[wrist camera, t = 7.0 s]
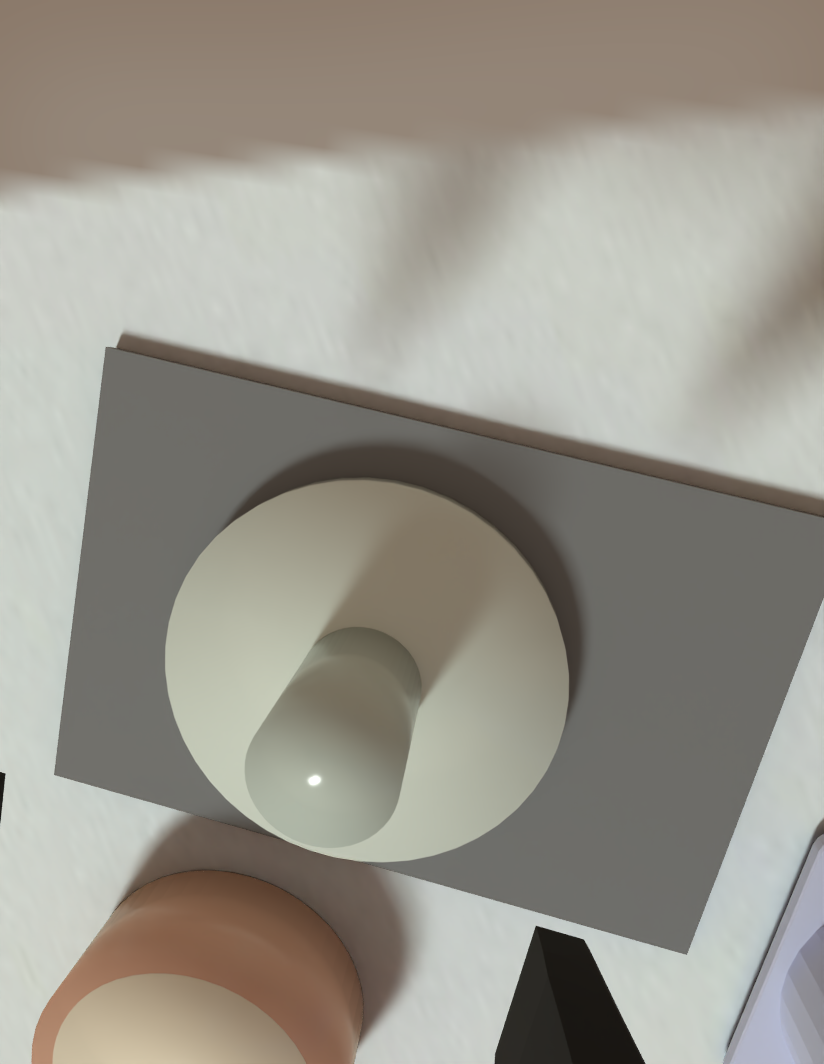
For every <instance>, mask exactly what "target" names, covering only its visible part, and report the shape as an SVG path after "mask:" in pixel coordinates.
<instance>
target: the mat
mask: <svg viewBox="0 0 824 1064" xmlns="http://www.w3.org/2000/svg"><path fill="white" fill-rule="evenodd" d="M358 477H371V478H380V479H389V480H397V481H401V482H405V483H409V484H413V485H418V486H422V487H425V488H427V489H430V490H432V491H435V492H438V493H440V494H443V495H445V496H448V497H450V498H452V499H453V500H455V501H457V502H459V503H461V504H463V505H465V506H466V507H468V508H470V509H472V510H473V511H475V512H476V513H478V514H479V515H480V516H482V517H483V518H484V519H486V520H487V521H489V522H490V523H491V524H493V525H494V526H495V527H496V528H497V529H498V530H500V531H501V532H502V533H503V534H504V535H505V536H506V537H507V538H508V539H509V540H510V541H511V542H512V543H513V544H514V545H515V546H516V547H517V548H518V550H519V551H520V552H521V553H522V555H523V556H524V557H525V558H526V560H527V561H528V562H529V563H530V564H531V566H532V567H533V569H534V571H535V572H536V574H537V576H538V577H539V579H540V581H541V582H542V584H543V585H544V587H545V589H546V591H547V594H548V596H549V598H550V601H551V603H552V605H553V607H554V610H555V612H556V616H557V620H558V623H559V627H560V630H561V634H562V637H563V641H564V645H565V649H566V656H567V664H568V671H569V701H568V707H567V714H566V720H565V726H564V729H563V732H562V735H561V739H560V742H559V745H558V748H557V750H556V753H555V755H554V757H553V759H552V761H551V763H550V765H549V767H548V769H547V771H546V773H545V774H544V776H543V777H542V779H541V780H540V782H539V783H538V785H537V786H536V788H535V789H534V791H533V792H532V793H531V794H530V795H529V796H528V797H527V799H526V800H525V801H524V802H523V803H522V804H521V805H520V806H519V807H518V809H517V810H515V811H514V812H513V813H512V814H511V815H510V816H508V817H507V818H506V819H505V820H504V821H502V822H501V823H500V824H499V825H497V826H496V827H494V828H493V829H491V830H490V831H488V832H487V833H485V834H483V835H482V836H480V837H479V838H477V839H475V840H473V841H470V842H468V843H466V844H464V845H462V846H460V847H458V848H455V849H452V850H449V851H446V852H443V853H440V854H437V855H434V856H429V857H424V858H419V859H414V860H409V861H396V862H364V861H359V862H362V863H366V864H370V865H373V866H377V867H380V868H384V869H387V870H391V871H394V872H398V873H401V874H405V875H408V876H412V877H415V878H419V879H422V880H426V881H429V882H433V883H436V884H440V885H443V886H447V887H450V888H454V889H457V890H461V891H464V892H468V893H471V894H475V895H478V896H482V897H486V898H489V899H493V900H496V901H500V902H503V903H507V904H510V905H514V906H517V907H521V908H524V909H528V910H531V911H535V912H538V913H542V914H545V915H549V916H552V917H556V918H559V919H563V920H566V921H570V922H573V923H577V924H580V925H584V926H587V927H591V928H594V929H598V930H602V931H605V932H609V933H612V934H616V935H619V936H623V937H626V938H630V939H633V940H637V941H640V942H644V943H647V944H651V945H654V946H658V947H661V948H665V949H668V950H672V951H675V952H679V953H682V954H686V955H687V953H688V950H689V948H690V945H691V942H692V940H693V937H694V935H695V932H696V929H697V927H698V924H699V921H700V919H701V916H702V914H703V911H704V908H705V906H706V903H707V901H708V898H709V895H710V893H711V890H712V888H713V885H714V882H715V880H716V877H717V875H718V872H719V869H720V867H721V864H722V861H723V859H724V856H725V854H726V851H727V848H728V846H729V843H730V841H731V838H732V835H733V833H734V830H735V828H736V825H737V822H738V820H739V817H740V814H741V812H742V809H743V807H744V804H745V801H746V799H747V796H748V794H749V791H750V788H751V786H752V783H753V781H754V778H755V775H756V773H757V770H758V767H759V765H760V762H761V760H762V757H763V754H764V752H765V749H766V747H767V744H768V741H769V739H770V736H771V734H772V731H773V728H774V726H775V723H776V721H777V718H778V715H779V713H780V710H781V707H782V705H783V702H784V700H785V697H786V694H787V692H788V689H789V687H790V684H791V681H792V679H793V676H794V674H795V671H796V668H797V666H798V663H799V660H800V658H801V655H802V653H803V650H804V647H805V645H806V642H807V640H808V637H809V634H810V632H811V629H812V627H813V624H814V621H815V619H816V616H817V613H818V611H819V608H820V606H821V603H822V600H823V598H824V517H823V516H818V515H814V514H810V513H806V512H802V511H797V510H793V509H789V508H785V507H781V506H776V505H772V504H768V503H764V502H760V501H755V500H751V499H747V498H743V497H739V496H734V495H730V494H726V493H722V492H718V491H713V490H709V489H705V488H701V487H697V486H692V485H688V484H684V483H680V482H676V481H671V480H667V479H663V478H659V477H655V476H650V475H646V474H642V473H638V472H634V471H629V470H625V469H621V468H617V467H613V466H608V465H604V464H600V463H596V462H592V461H588V460H583V459H579V458H575V457H571V456H567V455H562V454H558V453H554V452H550V451H546V450H541V449H537V448H533V447H529V446H525V445H520V444H516V443H512V442H508V441H504V440H499V439H495V438H491V437H487V436H483V435H478V434H474V433H470V432H466V431H462V430H457V429H453V428H449V427H445V426H441V425H436V424H432V423H428V422H424V421H420V420H415V419H411V418H407V417H403V416H399V415H394V414H390V413H386V412H382V411H378V410H373V409H369V408H365V407H361V406H357V405H352V404H348V403H344V402H340V401H336V400H331V399H327V398H323V397H319V396H315V395H311V394H306V393H302V392H298V391H294V390H290V389H285V388H281V387H277V386H273V385H269V384H264V383H260V382H256V381H252V380H248V379H243V378H239V377H235V376H231V375H227V374H222V373H218V372H214V371H210V370H206V369H201V368H197V367H193V366H189V365H185V364H180V363H176V362H172V361H168V360H164V359H159V358H155V357H151V356H147V355H143V354H138V353H134V352H130V351H126V350H122V349H117V348H112V347H106V350H105V358H104V366H103V375H102V383H101V391H100V399H99V408H98V416H97V424H96V433H95V441H94V449H93V457H92V466H91V474H90V482H89V491H88V499H87V507H86V515H85V524H84V532H83V540H82V549H81V557H80V565H79V573H78V582H77V590H76V598H75V606H74V615H73V623H72V631H71V640H70V648H69V656H68V664H67V673H66V681H65V689H64V698H63V706H62V714H61V722H60V731H59V739H58V747H57V755H56V764H55V772H54V775H57V776H60V777H64V778H67V779H71V780H74V781H78V782H81V783H85V784H88V785H92V786H95V787H99V788H102V789H106V790H109V791H113V792H116V793H120V794H123V795H127V796H130V797H134V798H138V799H141V800H145V801H148V802H152V803H155V804H159V805H162V806H166V807H169V808H173V809H176V810H180V811H183V812H187V813H190V814H194V815H197V816H201V817H204V818H208V819H211V820H215V821H218V822H222V823H225V824H229V825H232V826H236V827H239V828H243V829H246V830H250V831H254V832H257V833H261V834H264V835H268V836H271V837H275V838H278V839H282V838H280V837H278V836H276V835H274V834H272V833H271V832H269V831H267V830H265V829H264V828H262V827H261V826H259V825H258V824H256V823H255V822H253V821H252V820H251V819H249V818H248V817H246V816H245V815H244V814H243V813H241V812H240V811H239V810H238V809H237V808H236V807H234V806H233V805H232V804H231V803H230V802H229V801H228V800H226V799H225V797H224V796H223V795H222V794H221V793H220V792H219V791H218V790H217V789H216V788H215V787H214V785H213V784H212V783H211V782H210V781H209V780H208V778H207V777H206V775H205V774H204V773H203V771H202V770H201V769H200V767H199V766H198V764H197V763H196V762H195V760H194V758H193V756H192V755H191V753H190V751H189V749H188V747H187V745H186V744H185V742H184V740H183V738H182V735H181V733H180V730H179V728H178V725H177V723H176V720H175V718H174V714H173V710H172V707H171V703H170V699H169V695H168V688H167V681H166V673H165V645H166V638H167V631H168V624H169V620H170V616H171V613H172V610H173V606H174V603H175V599H176V597H177V595H178V593H179V590H180V588H181V586H182V584H183V582H184V579H185V577H186V576H187V574H188V572H189V571H190V569H191V568H192V566H193V565H194V563H195V562H196V560H197V558H198V557H199V555H200V554H201V553H202V552H203V551H204V550H205V549H206V547H207V546H208V545H209V544H210V543H211V542H212V541H213V539H214V538H215V537H216V536H217V535H218V534H220V533H221V532H222V531H223V530H224V529H225V528H227V527H228V526H229V525H230V524H231V523H232V522H234V521H235V520H236V519H238V518H239V517H241V516H242V515H244V514H246V513H247V512H249V511H250V510H252V509H253V508H255V507H256V506H258V505H260V504H262V503H263V502H265V501H267V500H269V499H271V498H273V497H275V496H278V495H280V494H282V493H284V492H286V491H289V490H291V489H294V488H297V487H301V486H304V485H307V484H311V483H314V482H319V481H325V480H332V479H338V478H358ZM282 840H284V839H282ZM285 841H286V840H285Z"/></svg>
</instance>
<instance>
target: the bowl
mask: <svg viewBox="0 0 824 1064" xmlns="http://www.w3.org/2000/svg"><path fill="white" fill-rule="evenodd" d="M362 1022H363V997H362V990H361V985H360V981H359V978H358V974H357V971H356V969H355V966H354V964H353V962H352V960H351V957H350V955H349V953H348V952H347V950H346V949H345V947H344V945H343V944H342V942H341V940H340V939H339V938H338V937H337V935H336V934H335V933H334V931H333V930H332V929H331V928H330V926H329V925H328V924H327V923H326V922H325V921H324V920H323V919H322V918H321V917H320V916H319V915H318V914H317V913H316V912H314V911H313V910H312V909H310V908H309V907H308V906H307V905H305V904H304V903H303V902H302V901H300V900H299V899H297V898H295V897H294V896H292V895H291V894H289V893H287V892H286V891H284V890H282V889H280V888H278V887H275V886H273V885H271V884H269V883H267V882H264V881H261V880H258V879H255V878H253V877H250V876H245V875H241V874H236V873H232V872H223V871H214V870H209V871H189V872H182V873H177V874H173V875H169V876H166V877H162V878H160V879H157V880H155V881H153V882H151V883H148V884H146V885H145V886H143V887H141V888H140V889H138V890H137V891H135V892H134V893H132V894H131V895H130V896H129V897H128V898H127V899H125V900H124V901H123V902H122V903H121V904H120V905H119V907H118V908H117V909H116V910H115V911H114V912H113V914H112V915H111V916H110V918H109V919H108V921H107V922H106V923H105V925H104V926H103V927H102V929H101V930H100V932H99V933H98V934H97V936H96V937H95V938H94V940H93V941H92V942H91V944H90V945H89V947H88V948H87V949H86V951H85V952H84V953H83V955H82V956H81V958H80V959H79V960H78V962H77V963H76V964H75V966H74V967H73V968H72V970H71V971H70V973H69V974H68V975H67V977H66V978H65V979H64V981H63V982H62V984H61V985H60V986H59V988H58V989H57V990H56V992H55V993H54V995H53V996H52V997H51V999H50V1000H49V1002H48V1003H47V1005H46V1007H45V1008H44V1010H43V1012H42V1014H41V1016H40V1019H39V1021H38V1024H37V1026H36V1029H35V1034H34V1039H33V1044H32V1064H354V1062H355V1057H356V1052H357V1047H358V1043H359V1038H360V1033H361V1027H362Z"/></svg>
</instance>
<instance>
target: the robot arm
mask: <svg viewBox="0 0 824 1064" xmlns="http://www.w3.org/2000/svg"><path fill="white" fill-rule="evenodd" d="M4 782H5V773H1V772H0V821H1V811H2V802H3V792H4ZM495 1064H645V1062H644V1060H643V1058H642V1056H641V1054H640V1052H639V1050H638V1048H637V1046H636V1044H635V1042H634V1040H633V1038H632V1036H631V1034H630V1032H629V1030H628V1028H627V1026H626V1024H625V1022H624V1020H623V1018H622V1016H621V1014H620V1012H619V1010H618V1008H617V1006H616V1004H615V1001H614V999H613V997H612V995H611V993H610V991H609V989H608V987H607V985H606V983H605V981H604V979H603V977H602V975H601V972H600V970H599V968H598V966H597V964H596V962H595V960H594V958H593V956H592V954H591V952H590V950H589V948H588V946H587V944H586V943H585V941H584V939H580V938H577V937H573V936H570V935H566V934H563V933H559V932H556V931H552V930H549V929H545V928H542V927H538V926H536V927H535V930H534V934H533V937H532V940H531V943H530V946H529V949H528V952H527V955H526V959H525V962H524V965H523V968H522V971H521V974H520V977H519V981H518V984H517V987H516V990H515V993H514V996H513V999H512V1003H511V1006H510V1009H509V1012H508V1015H507V1018H506V1021H505V1024H504V1028H503V1031H502V1034H501V1037H500V1040H499V1043H498V1046H497V1050H496V1053H495ZM723 1064H824V834H823V835H821V836H819V837H818V838H817V839H816V840H815V842H814V843H813V845H812V848H811V850H810V853H809V855H808V857H807V860H806V862H805V865H804V867H803V869H802V872H801V874H800V877H799V879H798V882H797V884H796V886H795V889H794V891H793V894H792V896H791V898H790V901H789V903H788V906H787V908H786V910H785V913H784V915H783V918H782V920H781V922H780V925H779V927H778V930H777V932H776V935H775V937H774V939H773V942H772V944H771V947H770V949H769V951H768V954H767V956H766V959H765V961H764V963H763V966H762V968H761V971H760V973H759V975H758V978H757V980H756V983H755V985H754V987H753V990H752V992H751V995H750V997H749V1000H748V1002H747V1004H746V1007H745V1009H744V1012H743V1014H742V1016H741V1019H740V1021H739V1024H738V1026H737V1028H736V1031H735V1033H734V1036H733V1038H732V1040H731V1043H730V1045H729V1048H728V1050H727V1052H726V1055H725V1057H724V1060H723Z"/></svg>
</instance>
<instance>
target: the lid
mask: <svg viewBox="0 0 824 1064" xmlns="http://www.w3.org/2000/svg"><path fill="white" fill-rule="evenodd" d="M165 673H166V681H167V688H168V695H169V699H170V703H171V707H172V710H173V714H174V718H175V720H176V723H177V725H178V728H179V730H180V733H181V735H182V738H183V740H184V742H185V744H186V745H187V747H188V749H189V751H190V753H191V755H192V756H193V758H194V760H195V762H196V763H197V764H198V766H199V767H200V769H201V770H202V771H203V773H204V774H205V775H206V777H207V778H208V780H209V781H210V782H211V783H212V784H213V785H214V787H215V788H216V789H217V790H218V791H219V792H220V793H221V794H222V795H223V796H224V797H225V799H226V800H228V801H229V802H230V803H231V804H232V805H233V806H234V807H236V808H237V809H238V810H239V811H240V812H241V813H243V814H244V815H245V816H246V817H248V818H249V819H251V820H252V821H253V822H255V823H256V824H258V825H259V826H261V827H262V828H264V829H265V830H267V831H269V832H271V833H272V834H274V835H276V836H278V837H280V838H282V839H284V840H286V841H287V842H290V843H292V844H295V845H297V846H300V847H302V848H305V849H307V850H310V851H313V852H317V853H321V854H324V855H328V856H331V857H335V858H342V859H348V860H354V861H364V862H396V861H409V860H414V859H419V858H424V857H429V856H434V855H437V854H440V853H443V852H446V851H449V850H452V849H455V848H458V847H460V846H462V845H464V844H466V843H468V842H470V841H473V840H475V839H477V838H479V837H480V836H482V835H483V834H485V833H487V832H488V831H490V830H491V829H493V828H494V827H496V826H497V825H499V824H500V823H501V822H502V821H504V820H505V819H506V818H507V817H508V816H510V815H511V814H512V813H513V812H514V811H515V810H517V809H518V807H519V806H520V805H521V804H522V803H523V802H524V801H525V800H526V799H527V797H528V796H529V795H530V794H531V793H532V792H533V791H534V789H535V788H536V786H537V785H538V783H539V782H540V780H541V779H542V777H543V776H544V774H545V773H546V771H547V769H548V767H549V765H550V763H551V761H552V759H553V757H554V755H555V753H556V750H557V748H558V745H559V742H560V739H561V735H562V732H563V729H564V726H565V720H566V714H567V707H568V701H569V671H568V664H567V656H566V649H565V645H564V641H563V637H562V634H561V630H560V627H559V623H558V620H557V616H556V612H555V610H554V607H553V605H552V603H551V601H550V598H549V596H548V594H547V591H546V589H545V587H544V585H543V584H542V582H541V581H540V579H539V577H538V576H537V574H536V572H535V571H534V569H533V567H532V566H531V564H530V563H529V562H528V561H527V560H526V558H525V557H524V556H523V555H522V553H521V552H520V551H519V550H518V548H517V547H516V546H515V545H514V544H513V543H512V542H511V541H510V540H509V539H508V538H507V537H506V536H505V535H504V534H503V533H502V532H501V531H500V530H498V529H497V528H496V527H495V526H494V525H493V524H491V523H490V522H489V521H487V520H486V519H484V518H483V517H482V516H480V515H479V514H478V513H476V512H475V511H473V510H472V509H470V508H468V507H466V506H465V505H463V504H461V503H459V502H457V501H455V500H453V499H452V498H450V497H448V496H445V495H443V494H440V493H438V492H435V491H432V490H430V489H427V488H425V487H422V486H418V485H413V484H409V483H405V482H401V481H397V480H389V479H380V478H371V477H358V478H338V479H332V480H325V481H319V482H314V483H311V484H307V485H304V486H301V487H297V488H294V489H291V490H289V491H286V492H284V493H282V494H280V495H278V496H275V497H273V498H271V499H269V500H267V501H265V502H263V503H262V504H260V505H258V506H256V507H255V508H253V509H252V510H250V511H249V512H247V513H246V514H244V515H242V516H241V517H239V518H238V519H236V520H235V521H234V522H232V523H231V524H230V525H229V526H228V527H227V528H225V529H224V530H223V531H222V532H221V533H220V534H218V535H217V536H216V537H215V538H214V539H213V541H212V542H211V543H210V544H209V545H208V546H207V547H206V549H205V550H204V551H203V552H202V553H201V554H200V555H199V557H198V558H197V560H196V562H195V563H194V565H193V566H192V568H191V569H190V571H189V572H188V574H187V576H186V577H185V579H184V582H183V584H182V586H181V588H180V590H179V593H178V595H177V597H176V599H175V603H174V606H173V610H172V613H171V616H170V620H169V624H168V631H167V638H166V645H165Z"/></svg>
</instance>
